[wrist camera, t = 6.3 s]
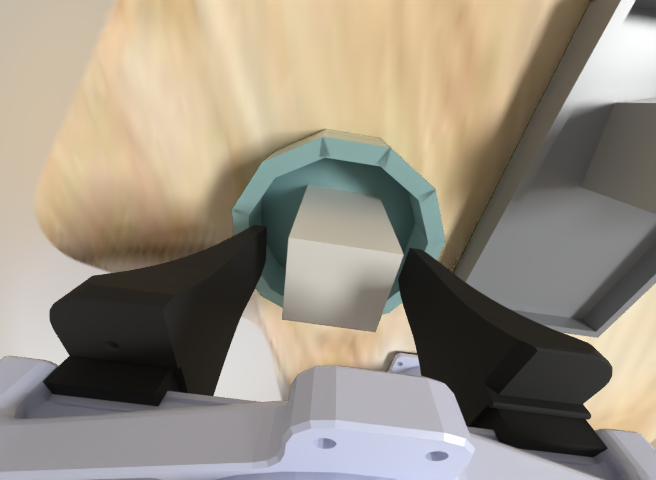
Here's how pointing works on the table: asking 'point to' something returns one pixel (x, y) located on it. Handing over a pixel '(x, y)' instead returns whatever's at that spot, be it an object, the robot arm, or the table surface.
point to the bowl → (344, 174)
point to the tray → (572, 189)
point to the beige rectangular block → (340, 260)
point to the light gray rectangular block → (627, 156)
